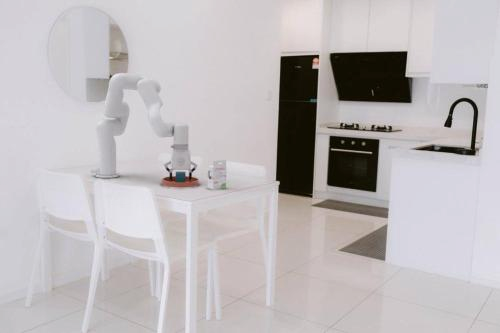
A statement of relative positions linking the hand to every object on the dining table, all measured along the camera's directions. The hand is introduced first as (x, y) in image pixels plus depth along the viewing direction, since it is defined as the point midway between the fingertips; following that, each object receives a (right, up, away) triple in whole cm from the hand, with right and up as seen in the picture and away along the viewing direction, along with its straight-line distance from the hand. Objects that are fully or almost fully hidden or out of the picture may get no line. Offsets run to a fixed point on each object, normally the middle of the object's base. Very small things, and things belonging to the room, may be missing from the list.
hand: (180, 180), depth 245 cm
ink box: (+19, -4, -6) cm, 21 cm away
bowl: (0, -2, 0) cm, 2 cm away
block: (0, -2, 0) cm, 2 cm away
